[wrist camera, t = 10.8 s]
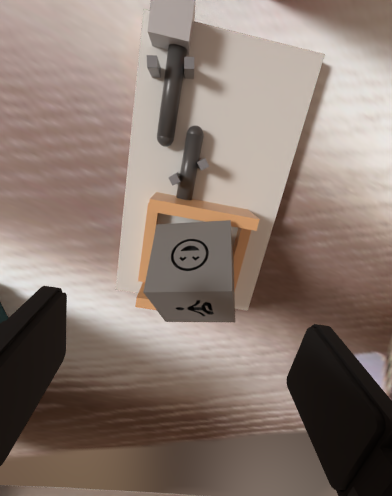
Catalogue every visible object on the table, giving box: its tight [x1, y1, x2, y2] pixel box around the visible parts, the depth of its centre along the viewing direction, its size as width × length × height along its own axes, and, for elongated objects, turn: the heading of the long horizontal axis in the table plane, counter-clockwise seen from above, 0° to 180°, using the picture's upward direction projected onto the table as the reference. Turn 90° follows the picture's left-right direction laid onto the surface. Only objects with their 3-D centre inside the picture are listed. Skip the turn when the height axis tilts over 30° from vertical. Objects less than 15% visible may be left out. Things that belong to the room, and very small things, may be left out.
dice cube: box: [143, 220, 235, 322], centre depth 17 cm, size 5×5×5 cm
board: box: [116, 0, 325, 311], centre depth 18 cm, size 20×12×4 cm, turn 169°
